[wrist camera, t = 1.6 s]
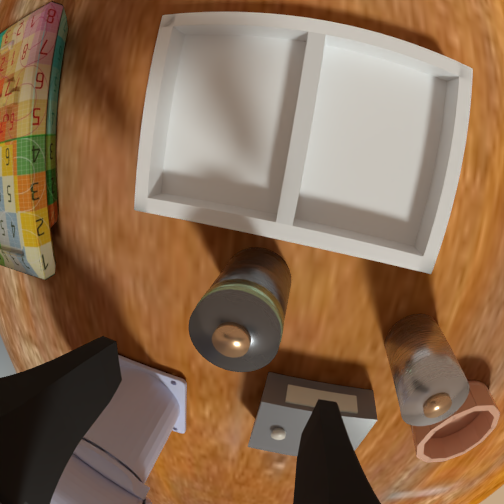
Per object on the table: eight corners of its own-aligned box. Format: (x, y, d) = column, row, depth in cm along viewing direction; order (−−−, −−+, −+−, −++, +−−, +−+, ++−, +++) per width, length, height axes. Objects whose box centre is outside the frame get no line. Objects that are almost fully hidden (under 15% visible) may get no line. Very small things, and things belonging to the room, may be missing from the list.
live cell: (221, 300, 19) (183, 363, 13) (229, 240, 18) (186, 289, 12) (284, 315, 19) (268, 386, 13) (298, 255, 17) (289, 314, 11)
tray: (155, 201, 18) (134, 210, 15) (180, 28, 14) (162, 14, 11) (417, 257, 16) (431, 274, 13) (454, 76, 12) (472, 68, 9)
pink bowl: (396, 437, 21) (400, 463, 18) (439, 378, 18) (449, 405, 15) (458, 437, 20) (465, 459, 17) (502, 381, 17) (514, 403, 14)
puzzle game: (42, -2, 10) (36, 285, 17) (84, 13, 14) (76, 261, 21) (-30, 50, 12) (-28, 260, 19) (5, 52, 16) (4, 244, 23)
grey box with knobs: (255, 419, 22) (246, 450, 19) (269, 370, 20) (260, 404, 17) (345, 434, 21) (345, 465, 18) (373, 388, 19) (378, 422, 16)
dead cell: (376, 358, 18) (389, 430, 12) (398, 309, 17) (425, 378, 11) (424, 364, 18) (446, 431, 12) (448, 318, 16) (484, 381, 10)
